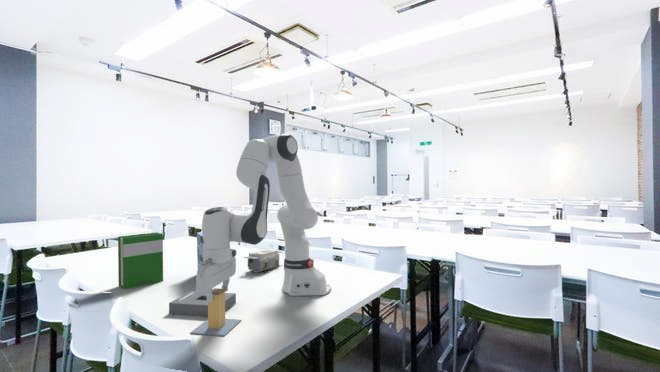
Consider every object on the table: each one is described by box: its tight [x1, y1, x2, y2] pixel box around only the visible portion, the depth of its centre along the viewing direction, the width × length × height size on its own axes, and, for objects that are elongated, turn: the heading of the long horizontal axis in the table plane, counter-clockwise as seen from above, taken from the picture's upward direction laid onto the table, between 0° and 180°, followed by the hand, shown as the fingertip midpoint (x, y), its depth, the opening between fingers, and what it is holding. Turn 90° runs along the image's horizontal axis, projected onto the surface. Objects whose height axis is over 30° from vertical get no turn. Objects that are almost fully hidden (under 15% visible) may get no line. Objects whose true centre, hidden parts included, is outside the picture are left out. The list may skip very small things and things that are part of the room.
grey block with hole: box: [168, 290, 237, 317], centre depth 128 cm, size 20×14×4 cm
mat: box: [189, 318, 242, 337], centre depth 110 cm, size 12×12×1 cm
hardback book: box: [117, 232, 164, 290], centre depth 161 cm, size 18×7×24 cm, turn 139°
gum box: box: [196, 231, 204, 269], centre depth 170 cm, size 19×5×23 cm, turn 31°
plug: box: [207, 287, 226, 329], centre depth 111 cm, size 4×4×12 cm
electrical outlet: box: [243, 249, 283, 273], centre depth 188 cm, size 12×28×10 cm, turn 158°
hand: (217, 296), depth 111 cm, fingers open, 8 cm apart
